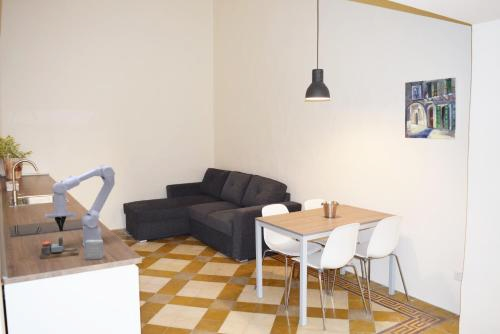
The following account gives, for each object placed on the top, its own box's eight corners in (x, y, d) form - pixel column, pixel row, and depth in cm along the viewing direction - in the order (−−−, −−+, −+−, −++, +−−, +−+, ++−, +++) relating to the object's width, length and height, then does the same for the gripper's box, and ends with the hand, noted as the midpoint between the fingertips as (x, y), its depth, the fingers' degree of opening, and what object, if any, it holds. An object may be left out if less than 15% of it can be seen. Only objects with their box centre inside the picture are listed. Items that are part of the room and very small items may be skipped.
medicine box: (104, 256, 200) (103, 239, 199) (101, 259, 196) (100, 242, 195) (87, 256, 200) (87, 239, 199) (84, 259, 196) (83, 242, 195)
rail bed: (79, 249, 212) (78, 239, 211) (78, 255, 203) (77, 244, 202) (42, 253, 206) (42, 243, 205) (40, 259, 197) (39, 248, 196)
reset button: (50, 242, 204) (50, 241, 204) (49, 244, 201) (49, 242, 200) (42, 243, 203) (42, 241, 202) (41, 245, 199) (41, 243, 199)
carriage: (63, 247, 208) (62, 236, 207) (62, 251, 201) (61, 239, 201) (52, 248, 206) (52, 237, 205) (51, 252, 199) (50, 240, 199)
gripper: (43, 207, 206) (45, 233, 207) (74, 205, 211) (75, 231, 213) (45, 205, 213) (46, 230, 214) (75, 203, 218) (76, 228, 219)
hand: (61, 230), depth 214 cm, fingers closed
